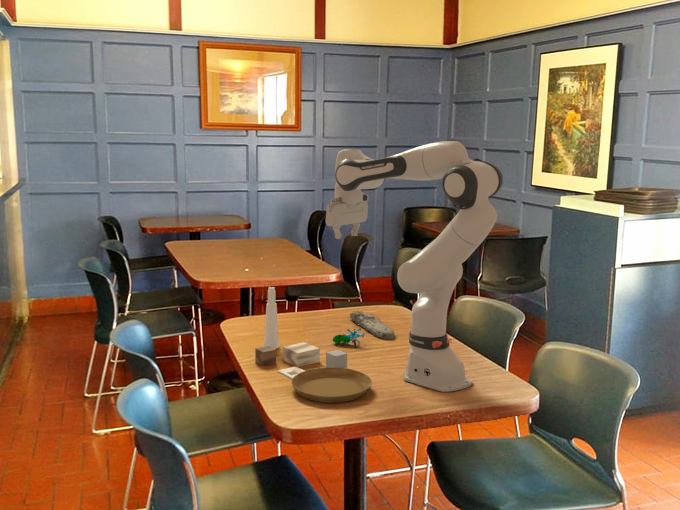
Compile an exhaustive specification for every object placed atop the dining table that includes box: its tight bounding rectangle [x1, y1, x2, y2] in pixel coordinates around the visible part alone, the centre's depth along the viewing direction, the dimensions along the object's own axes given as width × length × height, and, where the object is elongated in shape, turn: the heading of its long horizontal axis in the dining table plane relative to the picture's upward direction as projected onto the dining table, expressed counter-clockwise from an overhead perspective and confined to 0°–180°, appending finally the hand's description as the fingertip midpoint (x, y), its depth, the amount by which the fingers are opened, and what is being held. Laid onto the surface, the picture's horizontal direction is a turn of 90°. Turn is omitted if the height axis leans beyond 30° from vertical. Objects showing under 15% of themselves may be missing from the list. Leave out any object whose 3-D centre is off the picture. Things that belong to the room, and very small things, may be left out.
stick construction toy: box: [332, 327, 365, 349], centre depth 249 cm, size 12×7×8 cm
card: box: [277, 365, 305, 380], centre depth 217 cm, size 10×7×1 cm
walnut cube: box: [254, 346, 277, 367], centre depth 227 cm, size 5×5×5 cm
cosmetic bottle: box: [262, 286, 281, 350], centre depth 243 cm, size 6×6×22 cm
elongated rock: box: [349, 310, 395, 340], centre depth 273 cm, size 35×5×10 cm
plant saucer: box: [291, 367, 373, 404], centre depth 204 cm, size 24×24×3 cm
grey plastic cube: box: [325, 349, 348, 369], centre depth 224 cm, size 5×5×5 cm
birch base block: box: [282, 341, 321, 368], centre depth 230 cm, size 9×9×5 cm
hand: (346, 237), depth 232 cm, fingers open, 8 cm apart
